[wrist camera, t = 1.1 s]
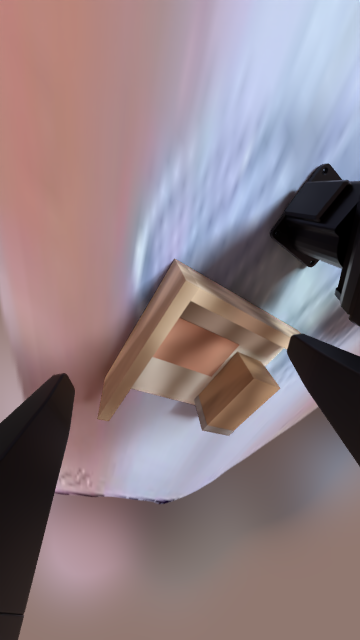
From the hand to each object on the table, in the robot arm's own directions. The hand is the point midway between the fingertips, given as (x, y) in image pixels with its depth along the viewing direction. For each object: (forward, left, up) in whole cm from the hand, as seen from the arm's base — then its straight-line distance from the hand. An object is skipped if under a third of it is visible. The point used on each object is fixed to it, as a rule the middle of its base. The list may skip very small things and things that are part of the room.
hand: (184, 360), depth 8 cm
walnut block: (-16, +10, -12) cm, 23 cm away
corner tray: (-11, +7, -13) cm, 18 cm away
